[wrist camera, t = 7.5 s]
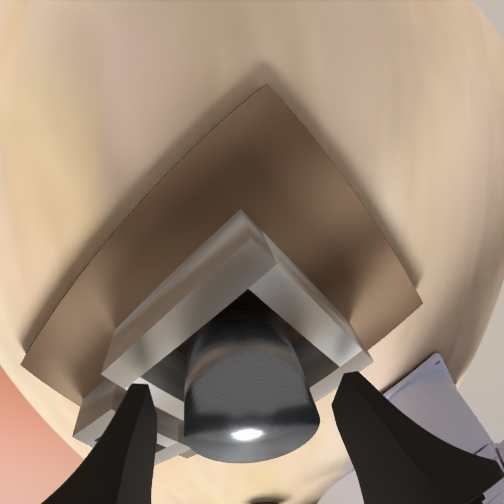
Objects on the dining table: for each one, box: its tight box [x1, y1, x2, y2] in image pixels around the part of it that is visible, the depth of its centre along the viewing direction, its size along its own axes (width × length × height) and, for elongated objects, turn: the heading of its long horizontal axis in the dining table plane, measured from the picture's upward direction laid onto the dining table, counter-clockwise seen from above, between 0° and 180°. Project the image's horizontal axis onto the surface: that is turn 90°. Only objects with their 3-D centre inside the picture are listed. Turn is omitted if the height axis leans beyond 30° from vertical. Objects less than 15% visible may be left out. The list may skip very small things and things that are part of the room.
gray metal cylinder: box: [184, 289, 320, 463], centre depth 11 cm, size 4×4×6 cm
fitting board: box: [21, 84, 423, 465], centre depth 13 cm, size 14×20×4 cm
